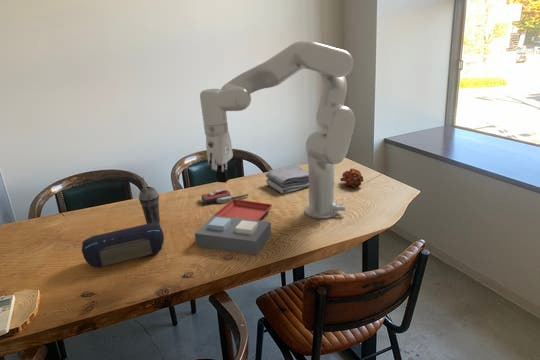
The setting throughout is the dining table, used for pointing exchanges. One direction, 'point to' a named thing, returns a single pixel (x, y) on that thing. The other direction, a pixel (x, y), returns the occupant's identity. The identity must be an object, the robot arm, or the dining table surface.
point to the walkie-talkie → (219, 197)
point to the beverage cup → (150, 204)
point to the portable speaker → (122, 245)
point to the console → (234, 237)
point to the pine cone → (352, 177)
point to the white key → (246, 227)
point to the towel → (288, 178)
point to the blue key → (219, 224)
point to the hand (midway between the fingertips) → (222, 181)
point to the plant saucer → (244, 210)
